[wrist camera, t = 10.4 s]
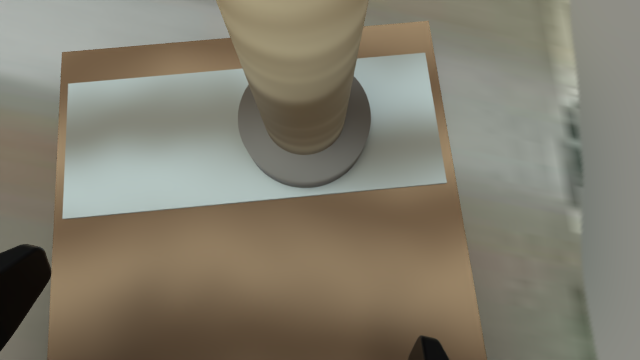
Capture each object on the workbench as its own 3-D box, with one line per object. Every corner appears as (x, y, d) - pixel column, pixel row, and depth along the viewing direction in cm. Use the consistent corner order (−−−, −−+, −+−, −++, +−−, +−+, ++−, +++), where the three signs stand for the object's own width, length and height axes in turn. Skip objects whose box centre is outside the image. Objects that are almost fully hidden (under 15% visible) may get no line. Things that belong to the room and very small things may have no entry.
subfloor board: (480, 384, 16) (495, 396, 15) (63, 428, 16) (39, 444, 15) (422, 35, 20) (429, 18, 19) (77, 64, 20) (59, 50, 18)
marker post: (364, 191, 17) (475, 29, 5) (238, 184, 17) (55, 5, 5) (368, 75, 18) (465, -276, 6) (250, 69, 18) (124, -294, 6)
